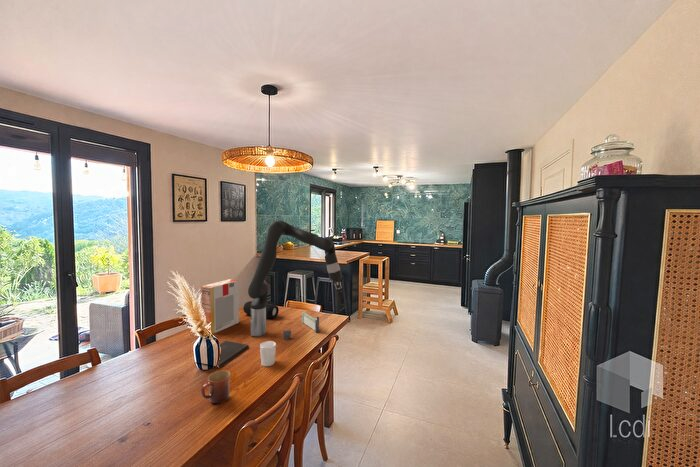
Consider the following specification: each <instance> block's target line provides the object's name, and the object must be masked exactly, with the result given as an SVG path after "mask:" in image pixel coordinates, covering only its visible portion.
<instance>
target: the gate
mask: <svg viewBox="0 0 700 467" xmlns="http://www.w3.org/2000/svg"><path fill="white" fill-rule="evenodd" d="M315 319H316V318H314V317H313V316H311V315H309V314H308V313H306V311H302V312H301V323H302V324H304V325H306V326H308V327H309V328H310V329H312V330H313V331H315Z"/></svg>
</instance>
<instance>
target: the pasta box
mask: <svg viewBox="0 0 700 467" xmlns="http://www.w3.org/2000/svg"><path fill="white" fill-rule="evenodd" d="M239 282H240V280H238V279H232V278H229V279H225V280H221V281H217V282H212V283H209V284H204V285H201V287H200V288H201V308H202V307H203V309H204V312H205V315H206V319H207V322H212V323H211V331H212V333H213V334H212V335H214V334H216V333H218V332H221V331H223V330H225V329H227V328H230V327H232V326H234V325H236V324H239V323H240V301H239V300H240V294H239V292H240V289H239V285H240V284H239Z"/></svg>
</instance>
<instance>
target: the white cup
mask: <svg viewBox="0 0 700 467" xmlns="http://www.w3.org/2000/svg"><path fill="white" fill-rule="evenodd" d="M276 347H277V343H276V342H275V341H273V340H267V341H264V342H261V343H260V344H259V350H260V362H261V366H262V367H271V366H273V365H274V364H275V361H276V359H275V358H276V350H277V348H276Z"/></svg>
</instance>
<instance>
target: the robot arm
mask: <svg viewBox="0 0 700 467" xmlns="http://www.w3.org/2000/svg"><path fill="white" fill-rule="evenodd" d="M281 236H289V237H292V238H295V239H296V240H299V241H300V242H301V243H304V244H307V245H309V246H313V247H315V248H317V249H320V250H322V251H324V261H325V264H326V268H327V269H326V270H327V273H328V278H329V280H331V281H334V282H333V285H334V286H335V289H336V291H337V294H338V297H339V300H342V299H344V296H343V290H342V288H343V287H342V281H341V278H342V277H343V275H342V271H341V267H340V265H339V261H338V257H337V253H336V247H335V242H334V240H333V239H332V238H330V237H326V238H325V237H322V236H319V235H318V234H316V233H313V232H311V231H307V230H305V229H304V230H303V229H300V228H298V227H296V226H293V225H291V224H289V223H288V222H286V221H284V220H280V219H279V220H275V221H272V222H271V223H270V224H269V226H268V229H267V235H266V239H265V242H264V244H263V248H262V250H261V253H260V257H259V260H258V262H257V266H256V269H255V272H254V274H253V277H252V279H251V282H250V283H249V285H248V289H247V292H248V293H247V294H248V296H249V297H250V298H251V299H253V300H252V301H253V302H252V303H251V315H250V337H262V336H265V335H266V333H267V318H266V303H267V304H268V295H269V294H268V292H269V291H268V290H269V289H268V285H267V283H266V282H265V279H266V278H267V276H268V275H269V274H270V272H271V271H272V270H273V267H274V265H275V262H276V259H277V251H278V250H277V246H278V243H279V240H280V238H281Z"/></svg>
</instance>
